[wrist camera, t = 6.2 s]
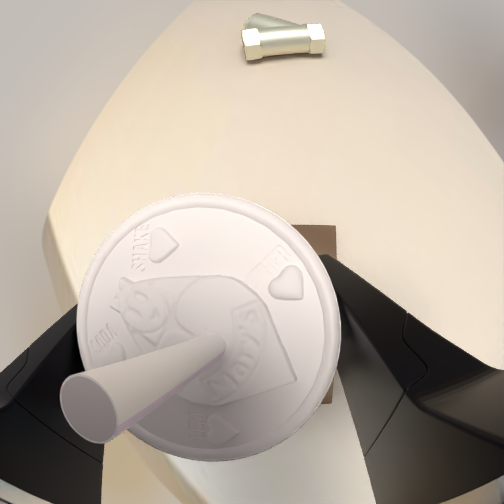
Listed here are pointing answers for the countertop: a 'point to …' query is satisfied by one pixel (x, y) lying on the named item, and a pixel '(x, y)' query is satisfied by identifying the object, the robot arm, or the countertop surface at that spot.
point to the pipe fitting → (280, 37)
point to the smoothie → (203, 331)
